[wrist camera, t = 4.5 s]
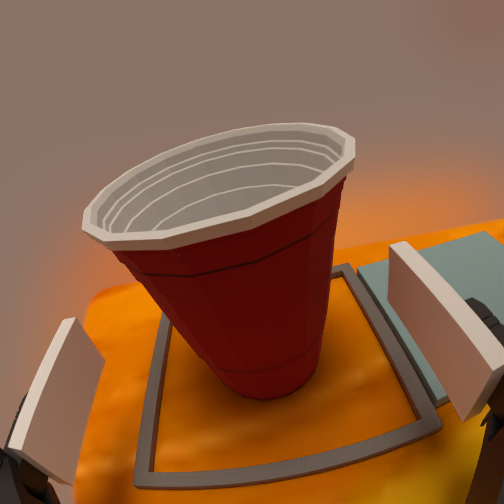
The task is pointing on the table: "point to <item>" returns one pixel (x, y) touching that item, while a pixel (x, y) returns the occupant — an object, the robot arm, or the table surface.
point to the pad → (458, 277)
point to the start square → (298, 466)
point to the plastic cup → (236, 245)
